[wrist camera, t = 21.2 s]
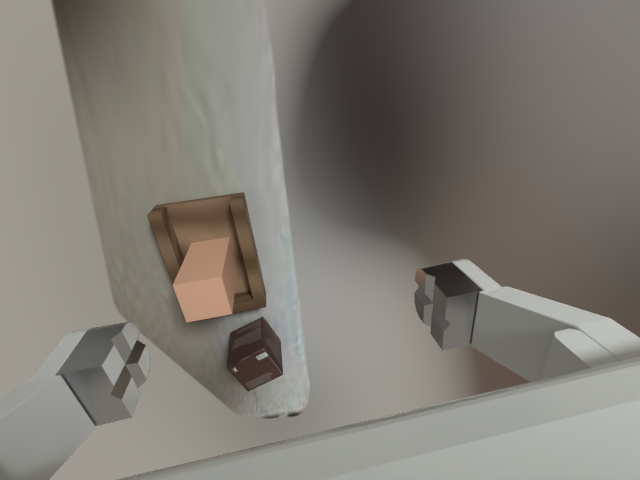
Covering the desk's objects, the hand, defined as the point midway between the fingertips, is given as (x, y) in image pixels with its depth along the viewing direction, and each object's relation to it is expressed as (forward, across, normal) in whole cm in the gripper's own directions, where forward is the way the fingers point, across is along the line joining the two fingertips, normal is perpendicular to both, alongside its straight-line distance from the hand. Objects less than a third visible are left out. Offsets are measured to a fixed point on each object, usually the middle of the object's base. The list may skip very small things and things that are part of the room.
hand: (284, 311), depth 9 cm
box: (+33, +7, +30) cm, 45 cm away
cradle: (+33, +10, +14) cm, 37 cm away
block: (+32, +9, +14) cm, 36 cm away
